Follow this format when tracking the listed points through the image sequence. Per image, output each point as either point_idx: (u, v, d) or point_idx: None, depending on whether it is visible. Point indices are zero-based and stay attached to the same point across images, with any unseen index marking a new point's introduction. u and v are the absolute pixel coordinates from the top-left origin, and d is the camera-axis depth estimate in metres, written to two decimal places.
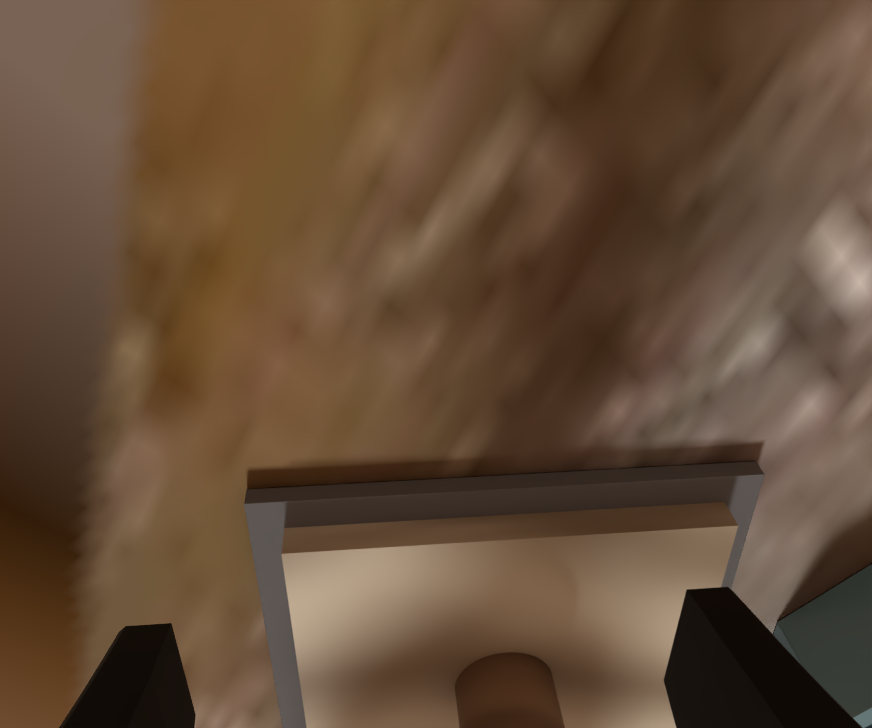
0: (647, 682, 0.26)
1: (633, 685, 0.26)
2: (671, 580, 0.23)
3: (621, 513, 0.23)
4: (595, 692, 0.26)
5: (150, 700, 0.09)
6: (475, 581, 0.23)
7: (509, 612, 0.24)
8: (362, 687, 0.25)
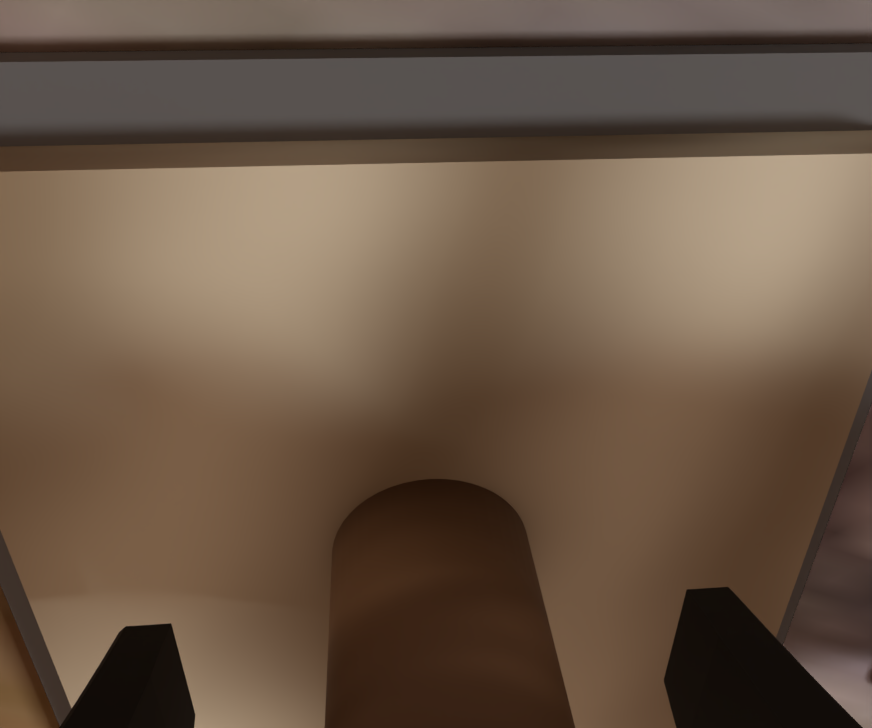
0: (465, 285, 0.10)
1: (474, 315, 0.10)
2: (84, 297, 0.10)
3: None
4: (487, 392, 0.11)
5: (150, 700, 0.09)
6: (136, 617, 0.13)
7: (215, 566, 0.12)
8: None
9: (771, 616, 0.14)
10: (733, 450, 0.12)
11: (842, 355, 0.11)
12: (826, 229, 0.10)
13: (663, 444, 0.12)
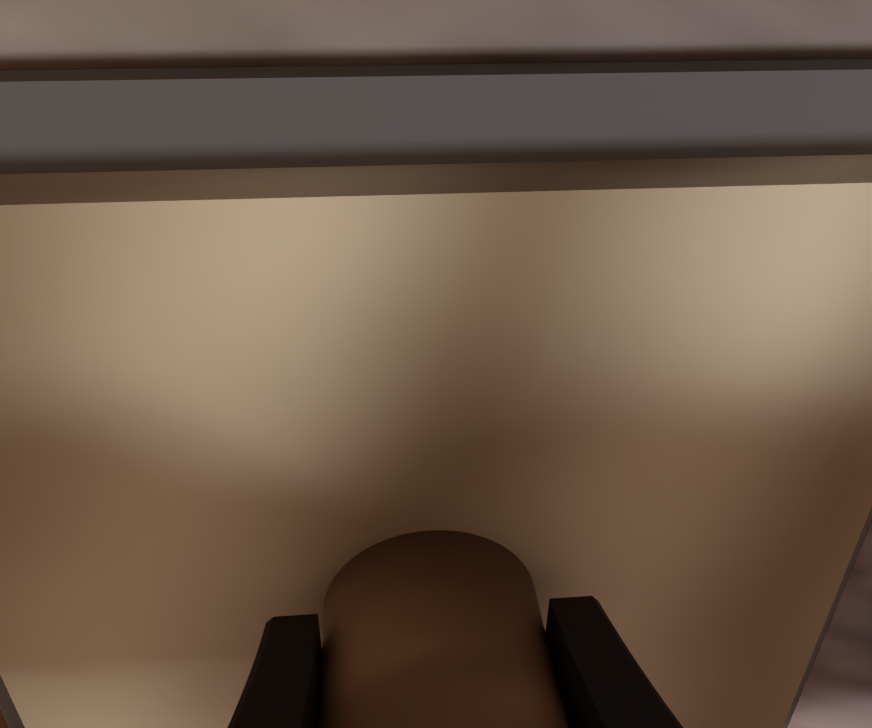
0: (468, 325, 0.09)
1: (478, 358, 0.09)
2: (45, 342, 0.09)
3: None
4: (491, 439, 0.10)
5: (312, 689, 0.09)
6: (112, 676, 0.12)
7: (196, 623, 0.12)
8: None
9: (794, 666, 0.13)
10: (758, 497, 0.11)
11: None
12: (865, 263, 0.09)
13: (682, 491, 0.11)
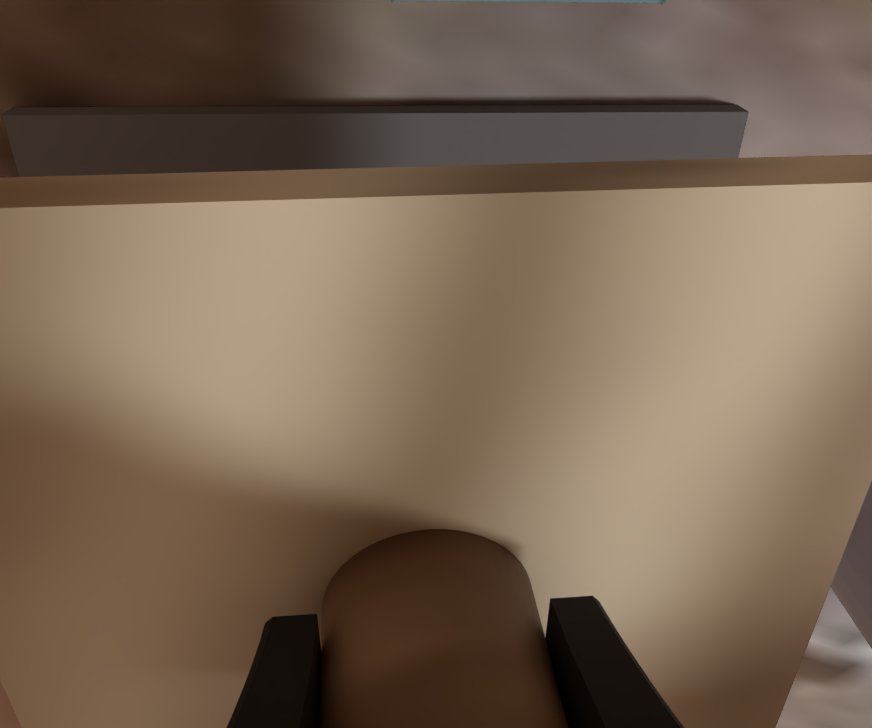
0: (466, 325, 0.09)
1: (475, 358, 0.10)
2: (46, 344, 0.09)
3: None
4: (489, 438, 0.10)
5: (311, 689, 0.09)
6: (111, 678, 0.12)
7: (195, 624, 0.12)
8: None
9: (788, 662, 0.14)
10: (751, 494, 0.11)
11: (869, 394, 0.11)
12: (854, 262, 0.09)
13: (677, 489, 0.11)
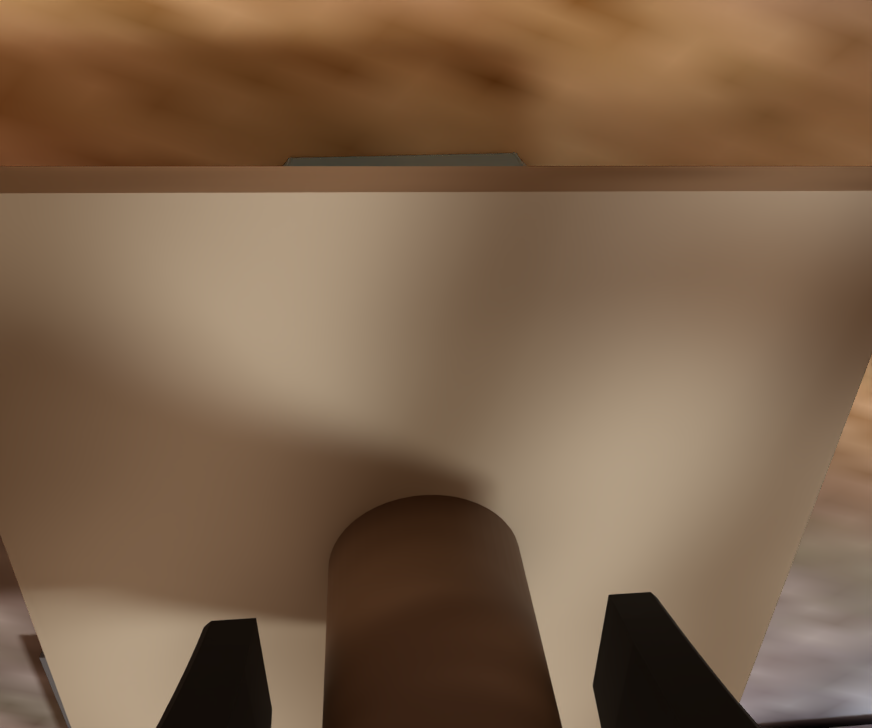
0: (466, 309, 0.10)
1: (474, 338, 0.11)
2: (92, 315, 0.10)
3: None
4: (484, 412, 0.11)
5: (245, 694, 0.09)
6: (133, 626, 0.13)
7: (213, 576, 0.13)
8: None
9: (754, 630, 0.15)
10: (721, 471, 0.12)
11: (828, 382, 0.12)
12: (814, 261, 0.11)
13: (654, 464, 0.12)
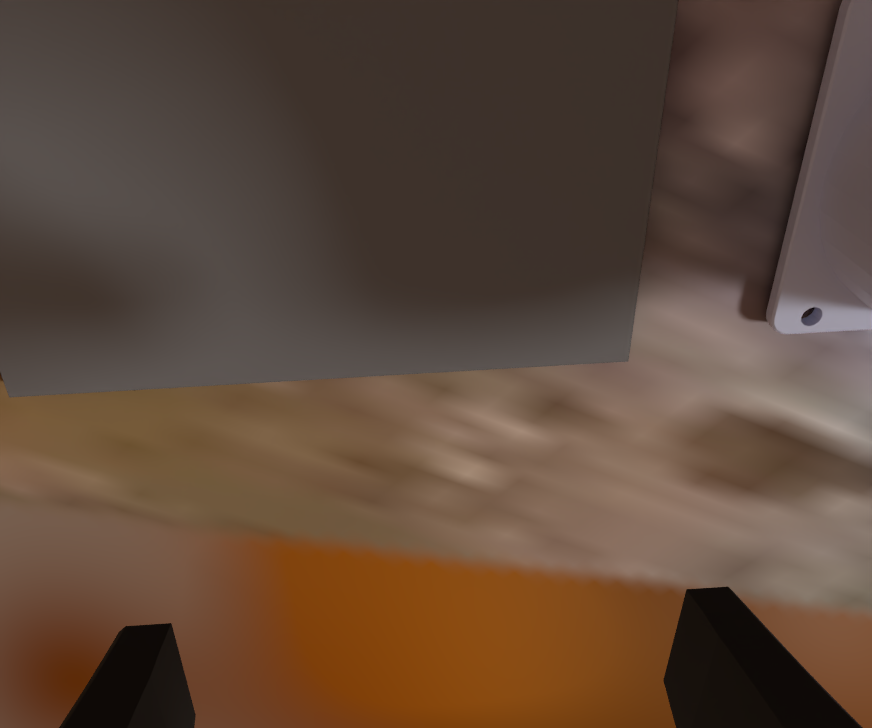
0: None
1: None
2: None
3: None
4: None
5: (150, 700, 0.09)
6: None
7: None
8: None
9: None
10: None
11: None
12: None
13: None
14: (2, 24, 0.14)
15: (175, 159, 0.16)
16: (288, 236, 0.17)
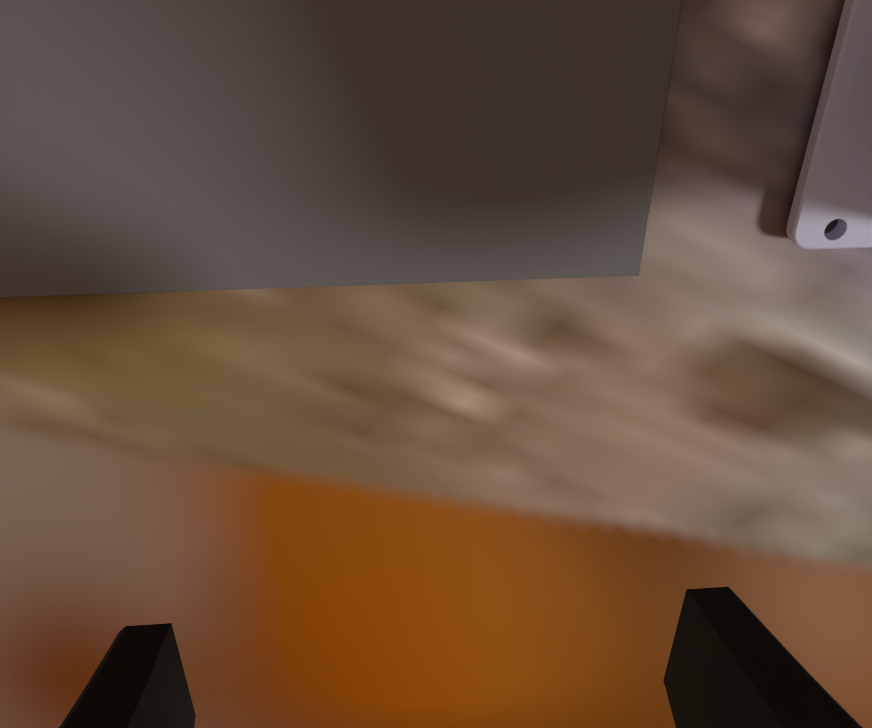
0: None
1: None
2: None
3: None
4: None
5: (150, 701, 0.09)
6: None
7: None
8: None
9: None
10: None
11: None
12: None
13: None
14: None
15: (150, 22, 0.14)
16: (274, 118, 0.16)
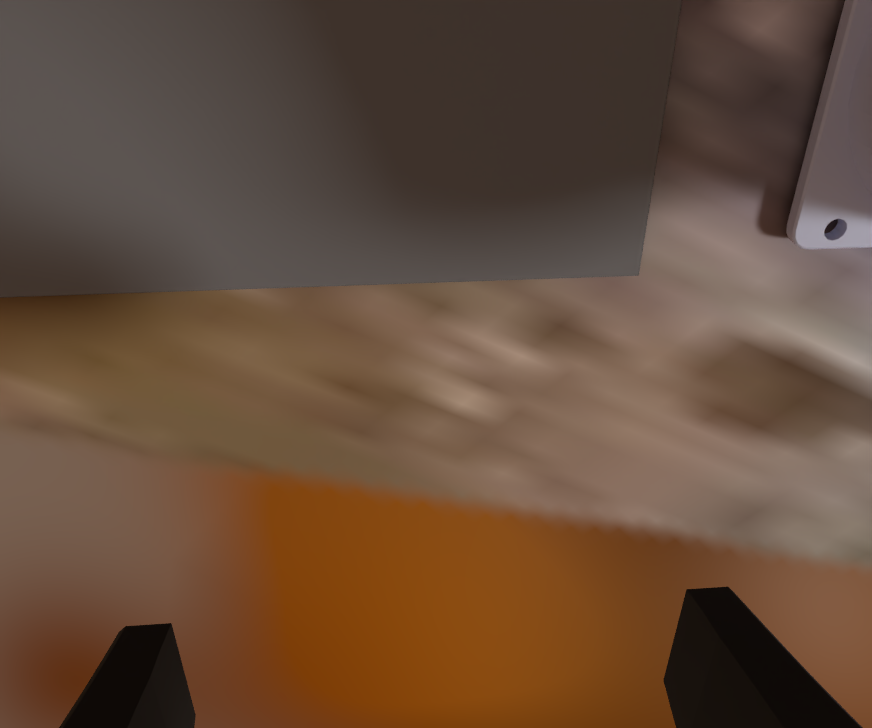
0: None
1: None
2: None
3: None
4: None
5: (150, 701, 0.09)
6: None
7: None
8: None
9: None
10: None
11: None
12: None
13: None
14: None
15: (150, 22, 0.14)
16: (274, 118, 0.16)
